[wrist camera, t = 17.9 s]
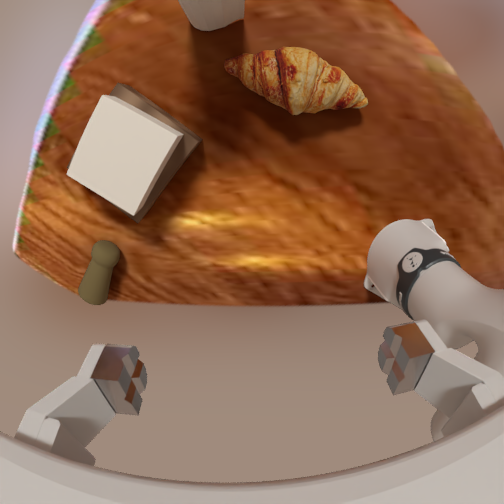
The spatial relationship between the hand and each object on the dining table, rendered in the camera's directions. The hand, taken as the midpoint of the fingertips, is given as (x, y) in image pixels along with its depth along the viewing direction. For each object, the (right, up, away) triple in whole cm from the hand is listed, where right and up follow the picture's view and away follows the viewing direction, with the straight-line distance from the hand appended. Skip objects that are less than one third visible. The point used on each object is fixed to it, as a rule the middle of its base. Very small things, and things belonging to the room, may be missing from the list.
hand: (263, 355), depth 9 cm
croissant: (+6, +26, +29) cm, 39 cm away
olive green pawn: (-30, -5, +39) cm, 49 cm away
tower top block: (-18, +17, +27) cm, 37 cm away
